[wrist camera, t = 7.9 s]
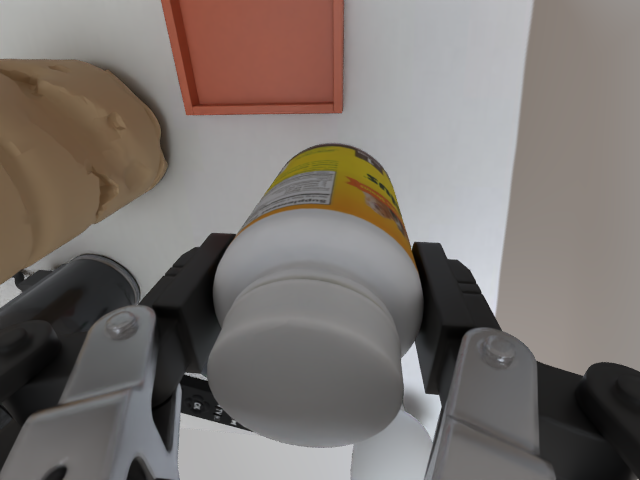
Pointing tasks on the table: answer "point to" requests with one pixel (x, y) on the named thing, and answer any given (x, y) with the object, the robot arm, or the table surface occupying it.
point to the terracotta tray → (258, 55)
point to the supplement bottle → (317, 304)
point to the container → (67, 154)
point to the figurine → (393, 452)
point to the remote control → (203, 402)
